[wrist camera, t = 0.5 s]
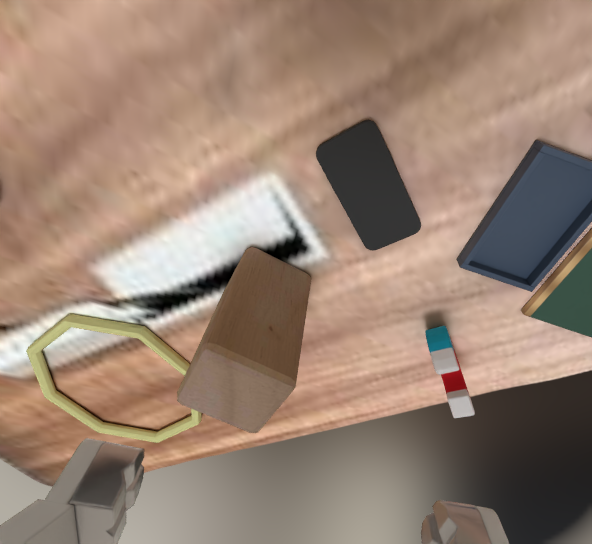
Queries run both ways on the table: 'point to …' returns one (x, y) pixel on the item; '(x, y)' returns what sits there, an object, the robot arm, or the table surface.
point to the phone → (368, 185)
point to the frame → (82, 414)
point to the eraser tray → (533, 218)
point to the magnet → (449, 371)
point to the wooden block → (250, 344)
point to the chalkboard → (567, 292)
